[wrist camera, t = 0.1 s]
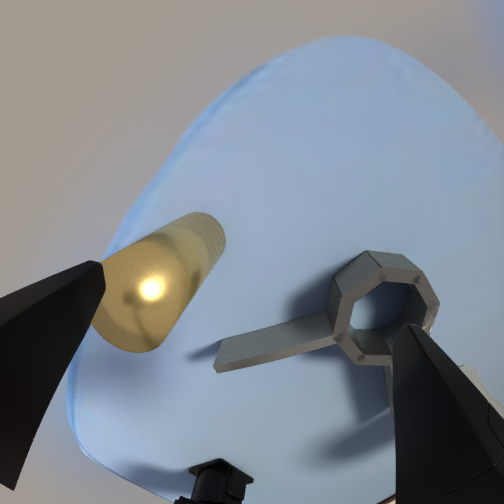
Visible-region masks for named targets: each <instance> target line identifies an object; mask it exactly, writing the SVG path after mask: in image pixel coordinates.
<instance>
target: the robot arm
mask: <svg viewBox="0 0 504 504" xmlns="http://www.w3.org/2000/svg"><path fill="white" fill-rule="evenodd" d="M105 291H106V281H105V275H104V269H103V265H102V264H101V263H100V262H96V261H92V260H89V261H86V262H84V263H81V264H79V265H76V266H74V267H72V268H69V269H67V270H64V271H62V272H60V273H57V274H54V275H52V276H50V277H47V278H45V279H43V280H40V281H38V282H36V283H33V284H31V285H29V286H27V287H24V288H22V289H19V290H17V291H15V292H13V293H10V294H8V295H6V296H4V297H2V298H0V483H1V484H2V485H4V486H6V487H7V488H9V489H11V490H14V489H15V487H16V484H17V481H18V478H19V475H20V472H21V470H22V467H23V465H24V462H25V459H26V457H27V454H28V452H29V449H30V447H31V444H32V442H33V438H34V437H35V434H36V432H37V429H38V428H39V425H40V423H41V421H42V418H43V416H44V414H45V412H46V410H47V408H48V406H49V403H50V401H51V399H52V397H53V395H54V393H55V391H56V389H57V387H58V385H59V383H60V381H61V379H62V377H63V375H64V373H65V371H66V369H67V368H68V366H69V364H70V362H71V360H72V358H73V356H74V354H75V353H76V351H77V349H78V347H79V345H80V343H81V342H82V340H83V338H84V336H85V334H86V332H87V330H88V328H89V326H90V324H91V322H92V320H93V317H94V315H95V313H96V311H97V308H98V306H99V304H100V302H101V300H102V298H103V296H104V293H105ZM392 396H393V410H394V426H395V450H396V494H395V504H504V419H503V417H502V416H501V415H500V414H499V413H498V412H497V411H496V409H495V408H494V407H493V406H492V405H491V403H490V402H489V403H488V400H487V399H486V398H485V396H484V395H483V394H482V393H481V392H480V391H479V390H478V388H477V387H476V386H475V385H474V384H473V383H472V382H471V380H470V379H469V378H468V377H467V376H466V375H465V374H464V373H463V372H462V370H461V369H460V368H459V367H458V366H457V365H456V364H455V363H454V362H453V361H452V360H451V359H450V357H449V356H448V355H447V354H446V353H445V352H444V351H443V350H442V349H441V348H440V347H439V346H438V345H437V344H436V343H435V342H434V340H433V339H432V338H431V337H430V336H429V335H428V334H427V333H426V332H425V331H424V330H423V329H422V328H421V327H420V326H419V325H415V324H406V325H404V327H403V328H402V330H401V332H400V333H399V335H398V337H397V339H396V340H395V342H394V344H393V348H392ZM189 472H190V473H191V474H193V475H194V476H196V477H197V478H196V482H195V485H194V489H193V492H192V495H191V499H188V498H185V497H183V496H180V498H179V500H175V502H174V504H242V500H244V496H245V489H246V485H247V484H250V483H253V482H254V479H253V478H251V477H250V476H248V475H247V474H245V473H243V472H242V471H240V470H239V469H237V468H235V467H234V466H232V465H231V464H229V463H228V462H226V461H225V460H223V459H218V460H215V461H212V462H209V463H206V464H203V465H200V466H196V467H193V468H190V469H189Z"/></svg>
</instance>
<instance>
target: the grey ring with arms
mask: <svg viewBox="0 0 504 504" xmlns="http://www.w3.org/2000/svg"><path fill="white" fill-rule="evenodd" d="M383 281H388V282H399V283H407V284H408V286H409V291H408V295H407V299H406V303H405V306H404V310H403V313H402V314H401V315H400V316H399V317H397V318H396V319H395V320H393V321H392V322H391V323H389V324H388V325H387V326H385V327H384V328H382V329H381V330H363V329H353V327H352V326H351V325H350V324H349V323H350V318H351V314H352V310H353V306H354V302H356V301H357V300H359V299H360V298H361V297H363V296H364V295H365V294H367V293H368V292H369V291H371V290H372V289H373V288H375V287H376V286H377V285H379V284H380V283H381V282H383ZM439 303H440V302H439V300H438V298H437V296H436V295H435V293H434V291H433V289H432V287H431V285H430V283H429V282H428V280H427V278H426V276H425V274H424V273H423V271H422V270H420V269H419V268H418V267H417V266H416V265H415V264H413V263H412V262H411V261H410V260H408V259H407V258H406V257H405V256H404V255H401V254H393V253H384V252H376V251H364V252H363V253H362V254H361V255H359V256H358V257H357V258H355V259H354V260H353V261H352V262H350V263H349V264H348V265H346V266H345V267H344V268H342V269H341V270H340V271H338V272H337V273H336V274H334V276H333V278H332V283H331V289H330V294H329V299H328V305H327V310H326V311H323V312H319V313H316V314H313V315H310V316H306V317H303V318H300V319H296V320H293V321H289V322H286V323H282V324H279V325H275V326H272V327H268V328H264V329H261V330H257V331H253V332H249V333H246V334H242V335H238V336H234V337H230V338H226V339H222V342H221V345H220V348H219V350H218V353H217V356H216V359H215V362H214V364H213V367H214V369H215V370H216V372H217V373H222V372H227V371H232V370H236V369H241V368H246V367H250V366H255V365H259V364H263V363H267V362H271V361H275V360H279V359H283V358H287V357H291V356H295V355H298V354H302V353H306V352H309V351H313V350H316V349H320V348H323V347H327V346H330V345H333V344H336V343H337V344H338V345H339V346H340V348H341V349H342V350H343V351H344V352H345V354H346V355H347V356H348V357H349V358H350V360H351V361H352V362H353V363H354V364H356V365H370V366H383V368H384V374H385V381H386V388H387V395H388V403H389V408H390V411H391V414H392V416H393V419H394V410H393V396H392V348H393V344H394V342H395V340H396V339H397V337H398V335H399V333H400V332H401V330H402V328H403V327H404V325H406V324H415V325H419V326H420V327H421V328H422V329H423V330H424V331H425V332H426V333H427V334H428V335H430V333H431V330H432V327H433V324H434V321H435V318H436V315H437V312H438V308H439V305H440V304H439Z"/></svg>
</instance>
